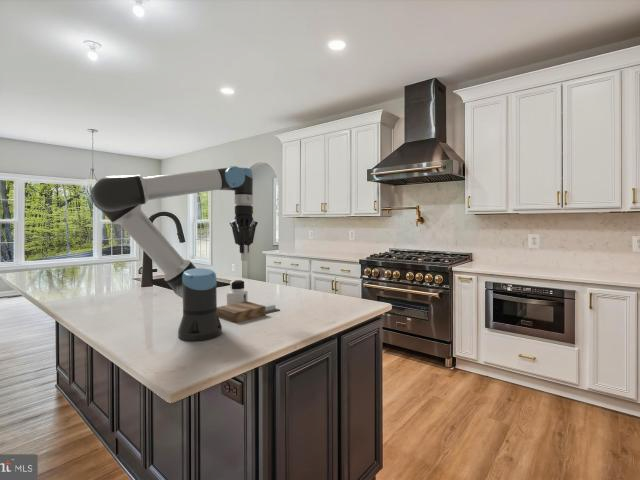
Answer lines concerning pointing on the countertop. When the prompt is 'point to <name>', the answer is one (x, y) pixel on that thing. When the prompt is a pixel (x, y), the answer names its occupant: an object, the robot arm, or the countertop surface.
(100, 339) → the countertop surface
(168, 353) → the countertop surface
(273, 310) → the mat
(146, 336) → the countertop surface
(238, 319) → the brown wooden flat block
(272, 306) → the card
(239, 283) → the container
